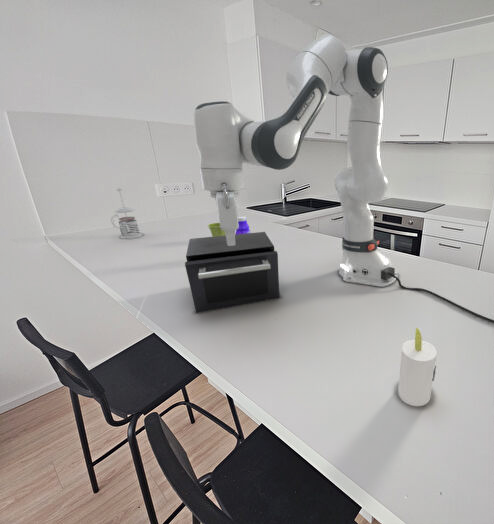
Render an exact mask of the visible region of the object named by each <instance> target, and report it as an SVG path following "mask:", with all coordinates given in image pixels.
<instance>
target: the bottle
mask: <svg viewBox="0 0 494 524" xmlns="http://www.w3.org/2000/svg"><path fill="white" fill-rule="evenodd" d="M238 224H239V227H238V229H237V230H235V235H236V234H246V233H252V232H251V230H250V225H249V224H248V221H247V217H246V216H244V215H243V216H242V215H241V216H238Z"/></svg>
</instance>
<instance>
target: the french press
mask: <svg viewBox="0 0 494 524" xmlns="http://www.w3.org/2000/svg"><path fill="white" fill-rule="evenodd" d="M116 191H117V192H119V195H120V199H121V202H122V206H123V207H120V208H117V209H116V210H115V211H114V212H115V214H113V215H112V217H111V218H110V219H111V220H110V222H111V224H112V226H113V227H114V228H117V229H119V231H120V234H121V236H120V238H121V239H124V240H125V239H128V240H129V239H135V238H140V237H142V236H143V234H142V233H141V232H140V228H139V225H138V221H137V219H136V217H135V216H127V213H133V212H134V211H135V209H134V208H131V207H126V206H124V201H123V198H122V194H121V191H122V188H119V187H118V188H116ZM117 213H118V214H122V213H123V214H125V216H123V217H120V216H119V215H118V214H117ZM115 217H117V218H118V220H119V221H118V225H119V227H118V226H116V224H115V221H114V220H115Z"/></svg>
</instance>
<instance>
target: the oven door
mask: <svg viewBox="0 0 494 524" xmlns="http://www.w3.org/2000/svg"><path fill="white" fill-rule="evenodd" d="M184 266H185V272H186V275H187V279H188V283H189V288H190V292H191V296H192V300H193V305H194V309H195V313H196V314H197V313H203V312H210V311H214V310H221V309H225V308H231V307H237V306H242V305H243V306H244V305H249V304H253V303H259V302H263V301H269V300H275V299H280V278H279V276H280V275H279V253H278V251H277V250H274V251H272V252H264V253H256V254H247V255H239V256H231V257H222V258H214V259H206V260H197V261H189V262H187V261H185V262H184Z"/></svg>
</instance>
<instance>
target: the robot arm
mask: <svg viewBox="0 0 494 524" xmlns="http://www.w3.org/2000/svg"><path fill="white" fill-rule="evenodd" d="M388 73H389V66H388V61H387V57H386V55H385V54H384V52H383V50H382V49H380V48H378V47H374V46H373V47H372V46H366V47H364V48H354V49H349V50H346V48H345V46H344V44H343V42H342V41H341V40H340V39H339V38H338V37H337V36H335V35H333V34H330V33H324V34H322V35H320V36H318V37H317V38H315V39H314V40H312V41H311V42H310V43H309V44H308V45H305V47H304V48H303V49H302V50H301V51H300V52H299V53H298V54H297V55H296V57H295V58H294V59H293V61H292V62H291V63H290V65H289V67H288V69H287V71H286V73H285V82H286V87H287V89H288V91H289V93H290V95H291V96H292V98H293V99H292V100H291V101H290V103H289V104H288V105H287V107H286V108H285V110H284V111H283V113H282V114H281V115H279V116H277V117H275V118H273V119H269V120H263V121H261V120H260V121H255V120H254V119H252V118H250V117H248V116H246V115H244V114H243V113H242V112H240V111H239V110H238V109H237V108H236V107H235V106H234V105H233V103H231V102H229V101H223V100H222V101H221V100H220V101H211V102H205V103H201V104H198V105H197V106H196V108H195V109H194V115H193V125H194V138H195V145H196V149H197V151H198V153H199V172H200V179H201V186H202V189H203V191H209V197H211V198H212V199H213V198H214V200H215V204H216V207H217V213H218V221H219V222H218V223H220V228H221V230H223V231H225V235H226V240H227V245H228V246H234V245H235V244H236V243H235V233H236V230H237V229H238V227H239V224H238V217H239V216H238V208H237V201H236V199H237V198H238V197H240V190H245V181H244V172H243V164H246V165H251V166H257V167H265V168H268V169H269V168H270V169H273V170H277V171H282V170H286V169H288V168H289V167H291V166H292V165H293V164H294V163H295V162H296V160H297V158H298V155H299V153H300V150H301V146H302V143H303V140H304V138H305V136H306V134H307V133H308V131H309V129H310V128H311V126H312V125H313V123H314V122H315V120H316V118H317V117H318V115H319V114H320V113H321V110H322V109H323V107H324V105H325V103H326V100H327V97H328V95H331V96H334V97H340V96H349V99H350V108H349V114H348V124H347V126H348V127H347V138H346V149H347V152H348V154H349V156H350V162H351V166H348V167H345V168H342V169H340V170H339V171H337V173H336V174H335V176H334V180H333V183H334V188H335V190H336V192H337V194H338V197H339V203H340V207H341V212H342V220H343V226H342V227H343V236H342V238H341V239H342V240H341V248H342V258H341V263H340V268H339V270H338V274H339V276H341V278H342V281H344V282H347V283H352V284H353V283H354V284H359V285H367V286H374V287H380V288H385V287H387V286H390V285H393V283H395V282H396V281H397V283H398V286H399V287H400V288H401V289H403V290H409V291H420V292H424V293H427V294H430V295H432V296H434V297H436V298H438V299H440V300H443V301H444V302H446V303H449V304H450V305H452V306H454V307H456V308H458V309H460V310H462V311H464V312H467V313H469V314H470V315H472V316H474V317H477V318H479V319H482V320H485V321H487V322H490V323H491V324H494V319H492V318H489V317H486V316H484V315H482V314H479V313H477V312H474V311H473V310H470V309H468V308H466V307H464V306H462V305H459V304H458V303H456V302H454V301H452V300H450V299H448V298H446V297H443V296H441V295H439V294H437V293H435V292H433V291H431V290H428V289H425V288H421V287H406V286H405V285H404V286H403V285H402V283H401V282H402V281H401V280H400V278H398V276H399V275H398V272H397V271H396V270H395V267H393V264H392V261H391V259H390V258H388V256H387V255H385V254H384V253H383V252H382V251H381V250H380V249H379V248H378V245H379V244H380V240H376V239H375V237H374V229H375V228H374V227H375V226H374V225H375V217H374V214H373V213H372V211H371V208H370V205H369V204H376V203H380V202H381V201H383V200H384V199H385V198H386V196H387V194H388V192H389V180H388V178H387V177H386V175H385V173H384V170H383V167H382V160H381V140H382V139H381V138H382V130H383V120H384V100H383V93H382V91H383V89H384V87H385V84H386V82H387V78H388Z"/></svg>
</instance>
